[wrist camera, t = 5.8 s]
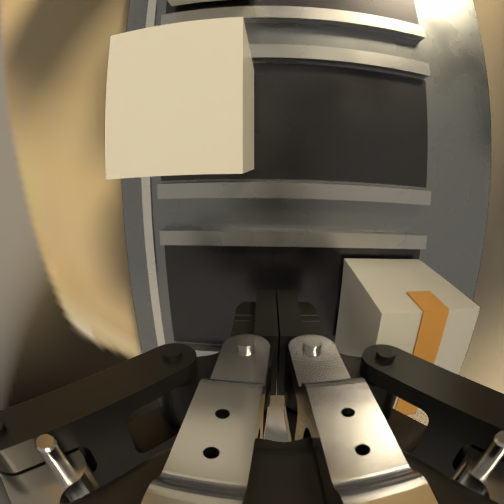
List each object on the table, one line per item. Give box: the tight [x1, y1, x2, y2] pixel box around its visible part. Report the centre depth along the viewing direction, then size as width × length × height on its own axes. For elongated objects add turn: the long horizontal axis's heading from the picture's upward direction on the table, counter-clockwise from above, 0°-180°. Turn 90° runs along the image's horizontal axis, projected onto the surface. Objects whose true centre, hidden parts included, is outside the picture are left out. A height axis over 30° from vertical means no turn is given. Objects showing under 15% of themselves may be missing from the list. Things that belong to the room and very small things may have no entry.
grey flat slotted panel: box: [122, 0, 491, 357], centre depth 12 cm, size 17×22×2 cm
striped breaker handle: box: [335, 258, 480, 415], centre depth 11 cm, size 4×4×5 cm
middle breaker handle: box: [105, 17, 254, 180], centre depth 9 cm, size 4×4×5 cm
